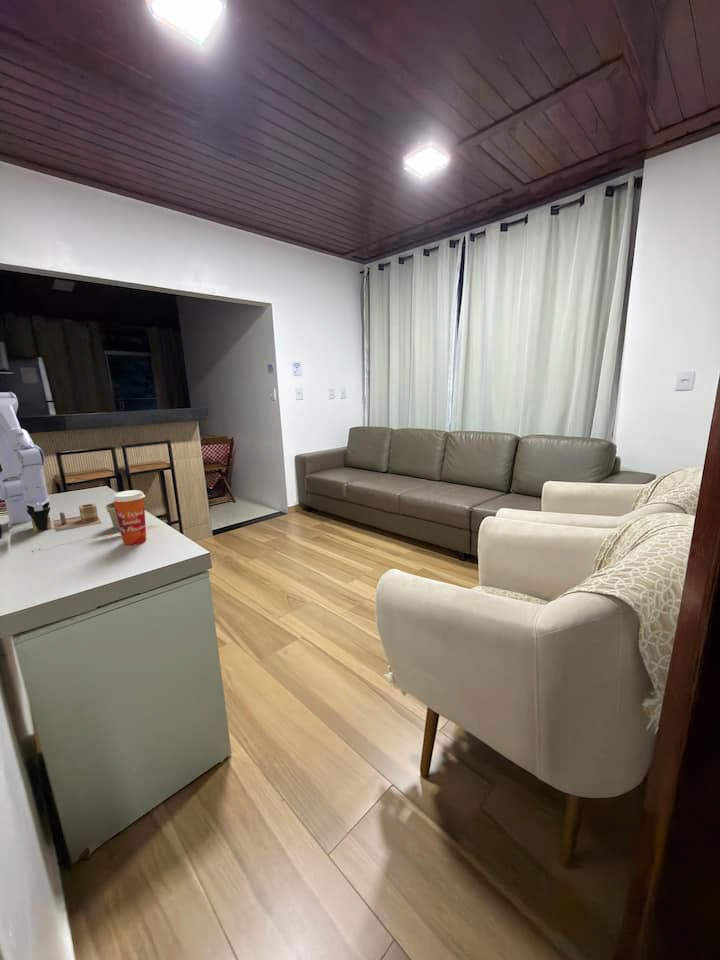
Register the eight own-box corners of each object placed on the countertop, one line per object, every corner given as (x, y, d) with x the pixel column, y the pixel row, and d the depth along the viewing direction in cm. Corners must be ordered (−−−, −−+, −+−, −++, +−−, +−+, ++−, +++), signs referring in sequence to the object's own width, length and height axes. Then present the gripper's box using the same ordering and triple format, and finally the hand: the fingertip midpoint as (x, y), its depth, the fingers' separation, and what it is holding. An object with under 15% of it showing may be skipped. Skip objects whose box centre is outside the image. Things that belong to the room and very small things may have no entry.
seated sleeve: (81, 519, 129) (78, 505, 127) (96, 516, 131) (94, 503, 130) (82, 522, 125) (80, 508, 124) (98, 519, 128) (96, 505, 127)
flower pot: (131, 534, 118) (127, 508, 116) (101, 534, 118) (97, 508, 116) (148, 524, 127) (144, 499, 125) (120, 524, 128) (117, 499, 126)
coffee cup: (117, 548, 107) (109, 498, 104) (120, 539, 114) (113, 491, 111) (150, 543, 111) (144, 494, 108) (151, 534, 118) (145, 488, 115)
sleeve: (34, 531, 121) (31, 516, 120) (51, 528, 124) (48, 513, 123) (34, 535, 118) (31, 519, 116) (52, 531, 120) (49, 517, 119)
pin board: (53, 523, 128) (51, 509, 127) (96, 516, 135) (93, 502, 134) (56, 535, 117) (53, 519, 116) (102, 526, 125) (99, 511, 124)
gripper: (17, 484, 120) (25, 524, 123) (16, 493, 109) (26, 536, 112) (45, 481, 125) (53, 519, 128) (47, 489, 114) (56, 531, 117)
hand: (42, 527), depth 120 cm, fingers closed on sleeve, 4 cm apart
